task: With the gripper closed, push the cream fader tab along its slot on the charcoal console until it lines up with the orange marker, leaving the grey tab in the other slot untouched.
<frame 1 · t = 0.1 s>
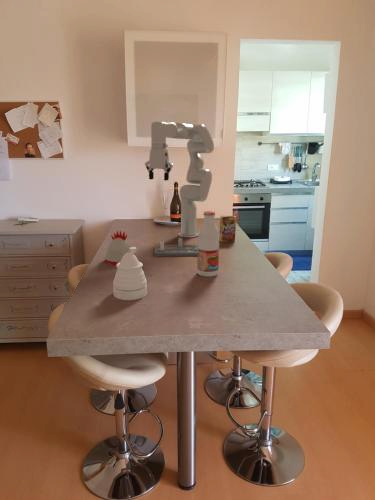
hand: (158, 179, 206), 37 cm above the table, tool pointing down, fingers open, 9 cm apart
fader 2: (180, 241, 211), point 4 cm above the table, slide at 10.0 cm
honey pot: (130, 294, 150), on the table
fader: (162, 245, 203), point 4 cm above the table, slide at 0.0 cm
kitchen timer: (119, 261, 191), on the table
candy box: (227, 241, 231), on the table
console: (177, 251, 207), on the table
fruit juice: (207, 274, 174), on the table
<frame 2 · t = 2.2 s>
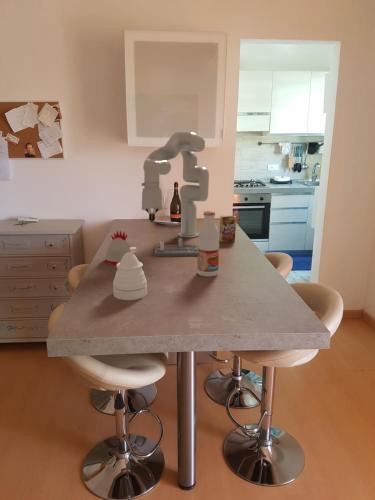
hand: (152, 221, 199), 17 cm above the table, tool pointing down, fingers closed
nothing on the table moved.
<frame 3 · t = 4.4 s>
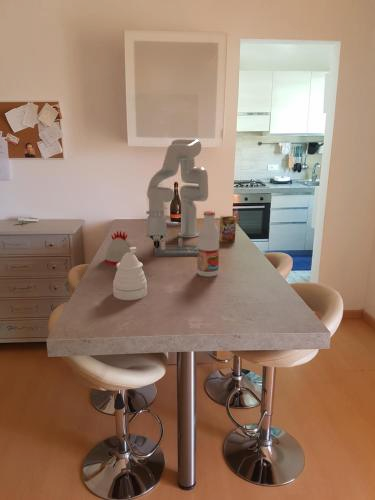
hand: (156, 247, 204), 3 cm above the table, tool pointing down, fingers closed
fader: (163, 245, 204), point 4 cm above the table, slide at 0.5 cm, touching gripper
everything else where it was.
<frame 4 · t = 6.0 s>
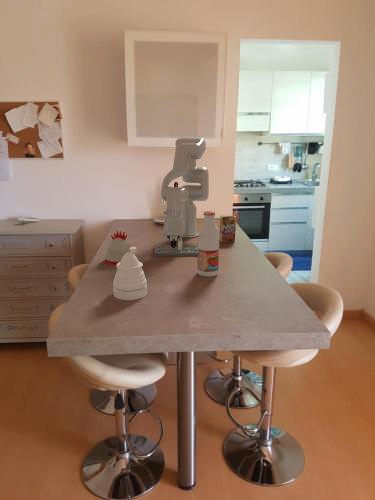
hand: (173, 247, 204), 3 cm above the table, tool pointing down, fingers closed
fader: (179, 245, 204), point 4 cm above the table, slide at 9.4 cm, touching gripper
everything else where it was.
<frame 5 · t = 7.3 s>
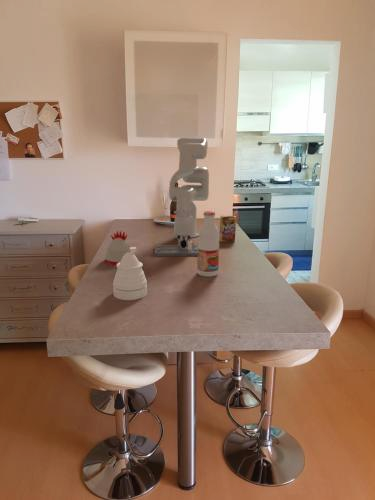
hand: (183, 247, 205), 3 cm above the table, tool pointing down, fingers closed
fader: (189, 245, 205), point 4 cm above the table, slide at 14.7 cm, touching gripper
everything else where it was.
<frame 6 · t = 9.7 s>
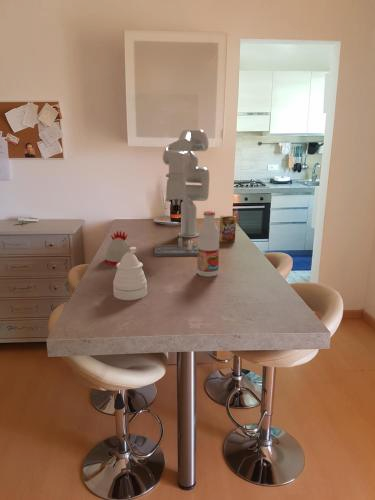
hand: (176, 212, 201), 22 cm above the table, tool pointing down, fingers closed
fader: (190, 245, 205), point 4 cm above the table, slide at 14.9 cm
everything else where it was.
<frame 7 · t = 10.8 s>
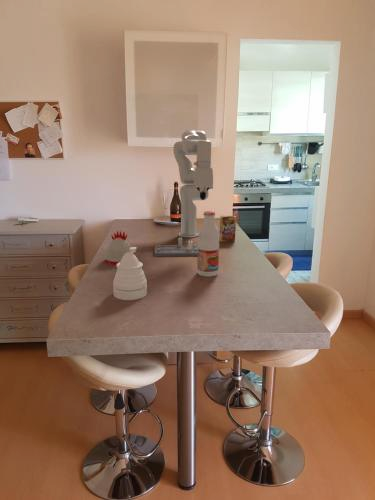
hand: (202, 199, 208), 27 cm above the table, tool pointing down, fingers closed
nothing on the table moved.
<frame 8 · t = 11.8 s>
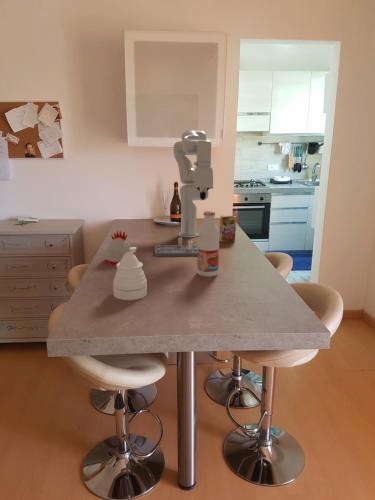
hand: (202, 199, 208), 27 cm above the table, tool pointing down, fingers closed
nothing on the table moved.
at the end: fader slide at 14.9 cm; fader 2 slide at 10.0 cm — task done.
